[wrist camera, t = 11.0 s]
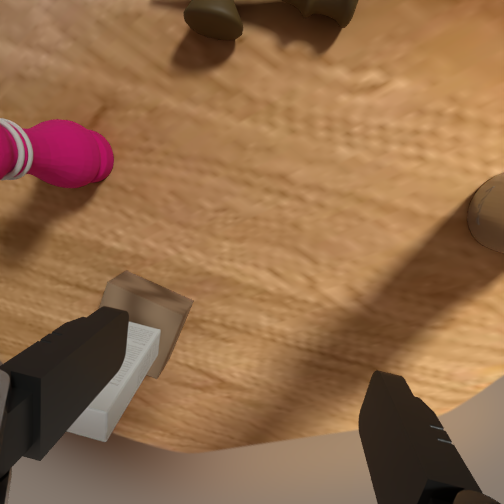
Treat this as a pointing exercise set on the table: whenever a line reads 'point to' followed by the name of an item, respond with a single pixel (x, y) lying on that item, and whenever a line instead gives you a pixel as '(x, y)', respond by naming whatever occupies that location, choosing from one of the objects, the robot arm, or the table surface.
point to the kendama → (230, 25)
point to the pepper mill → (54, 153)
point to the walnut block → (150, 311)
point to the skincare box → (120, 385)
